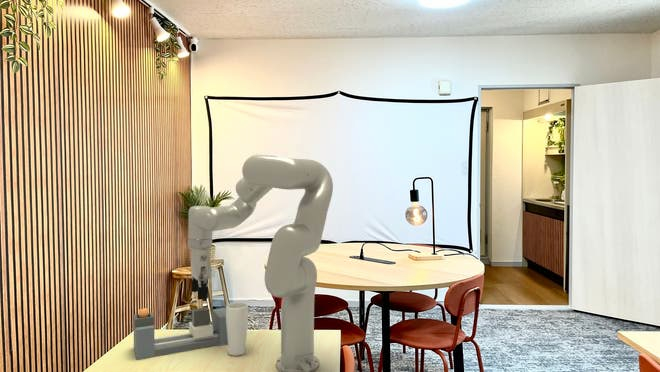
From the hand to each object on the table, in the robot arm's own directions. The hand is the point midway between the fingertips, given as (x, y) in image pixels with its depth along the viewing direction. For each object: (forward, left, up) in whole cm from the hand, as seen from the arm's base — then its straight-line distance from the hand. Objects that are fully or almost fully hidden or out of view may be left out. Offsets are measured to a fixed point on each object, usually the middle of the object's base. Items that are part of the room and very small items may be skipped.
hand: (199, 295), depth 148 cm
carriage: (0, 0, -13) cm, 13 cm away
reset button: (0, +17, -5) cm, 18 cm away
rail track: (0, +5, -16) cm, 16 cm away
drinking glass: (-14, -8, -16) cm, 23 cm away
